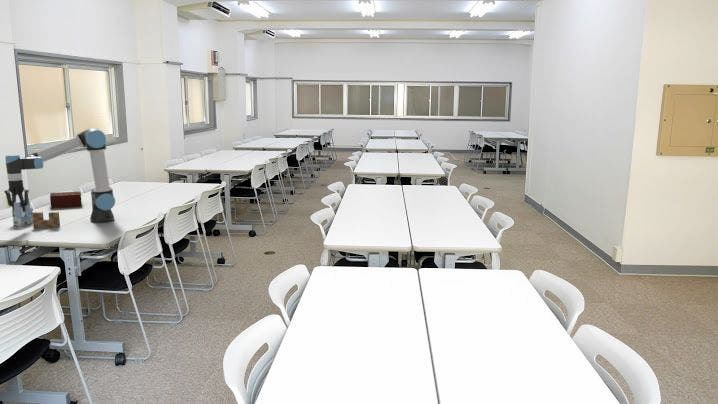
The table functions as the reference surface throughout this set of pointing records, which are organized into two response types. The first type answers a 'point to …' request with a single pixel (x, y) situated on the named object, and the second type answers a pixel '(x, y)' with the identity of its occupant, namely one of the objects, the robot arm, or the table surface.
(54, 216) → the brown wooden u-shaped block
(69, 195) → the box
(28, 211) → the blue-grey rectangular slab
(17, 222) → the light bulb box
